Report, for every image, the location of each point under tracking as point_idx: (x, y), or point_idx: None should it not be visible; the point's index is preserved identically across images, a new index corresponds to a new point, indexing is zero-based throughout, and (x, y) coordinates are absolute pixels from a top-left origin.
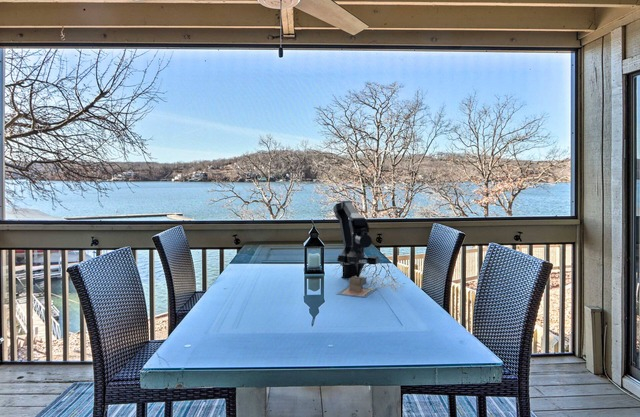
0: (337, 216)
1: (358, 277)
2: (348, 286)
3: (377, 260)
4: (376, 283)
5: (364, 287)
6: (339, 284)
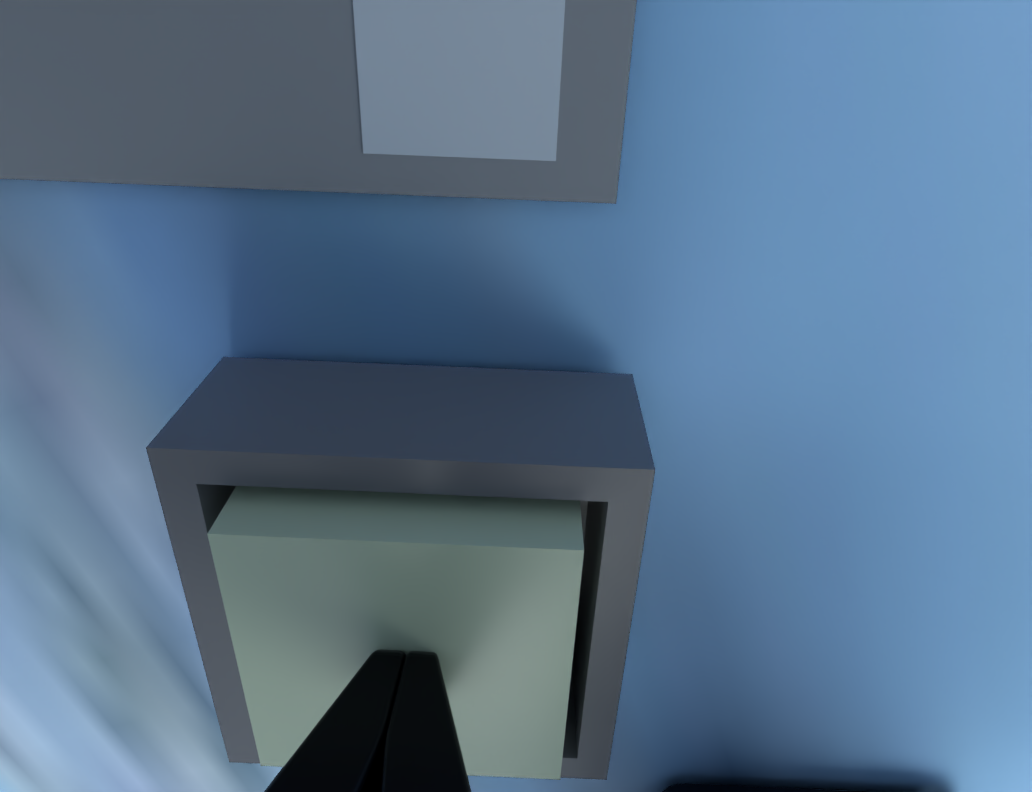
0: None
1: None
2: (595, 63)
3: None
4: (54, 659)
5: (9, 136)
6: (970, 301)
